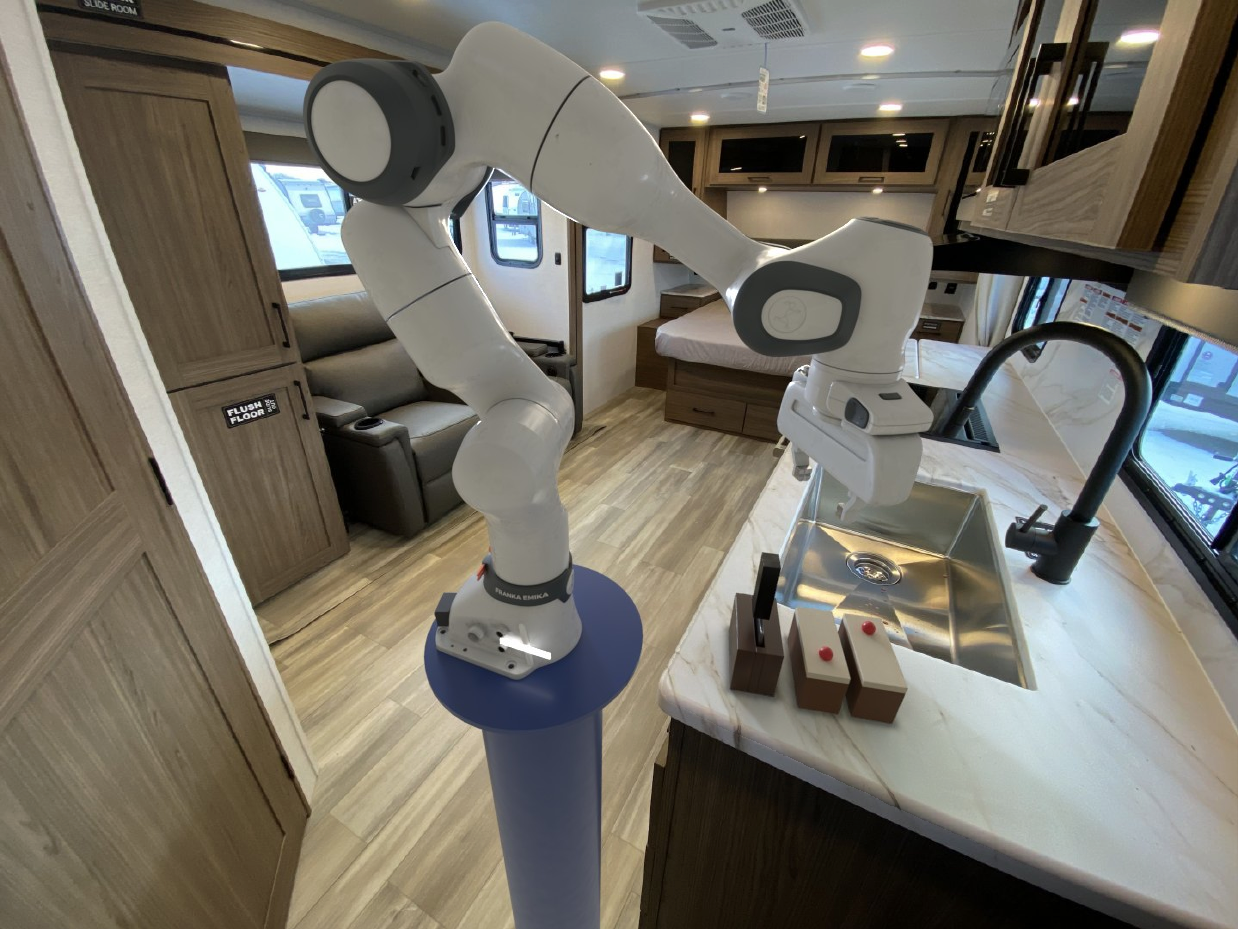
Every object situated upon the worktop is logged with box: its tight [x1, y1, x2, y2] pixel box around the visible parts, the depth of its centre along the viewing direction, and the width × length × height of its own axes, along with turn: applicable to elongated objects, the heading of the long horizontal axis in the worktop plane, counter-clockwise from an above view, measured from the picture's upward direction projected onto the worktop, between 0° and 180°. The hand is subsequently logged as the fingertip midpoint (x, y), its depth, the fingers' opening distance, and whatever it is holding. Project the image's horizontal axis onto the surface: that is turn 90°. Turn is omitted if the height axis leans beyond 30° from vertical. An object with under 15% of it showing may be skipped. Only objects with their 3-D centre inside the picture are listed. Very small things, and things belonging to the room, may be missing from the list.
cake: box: [786, 605, 909, 725], centre depth 69 cm, size 12×12×8 cm
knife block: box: [728, 592, 785, 698], centre depth 71 cm, size 6×11×8 cm, turn 170°
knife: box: [752, 551, 782, 647], centre depth 68 cm, size 2×8×19 cm, turn 169°
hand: (821, 497), depth 59 cm, fingers open, 8 cm apart
